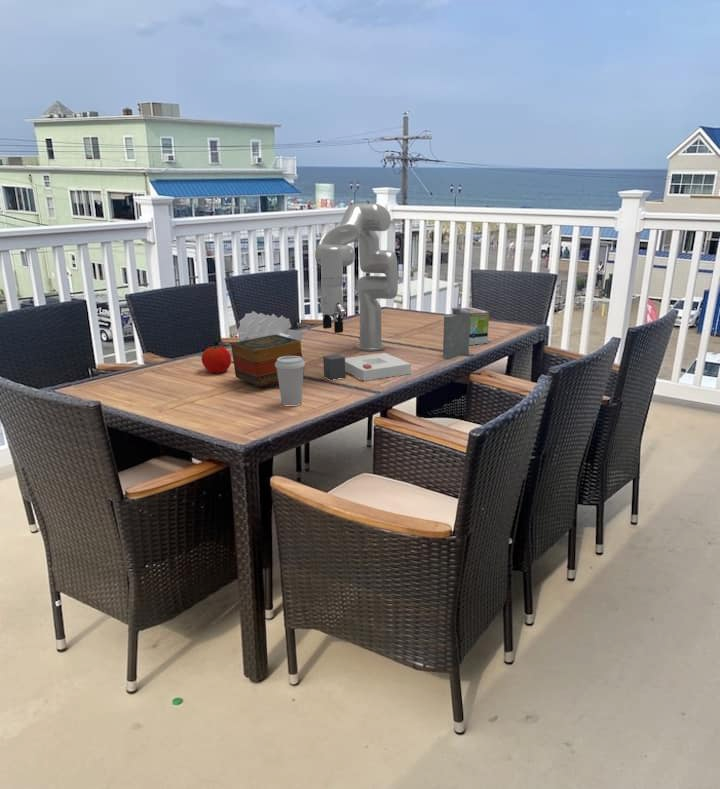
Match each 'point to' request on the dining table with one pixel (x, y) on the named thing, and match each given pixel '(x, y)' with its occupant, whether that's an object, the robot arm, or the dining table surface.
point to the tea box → (477, 325)
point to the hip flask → (456, 333)
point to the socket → (376, 366)
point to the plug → (334, 366)
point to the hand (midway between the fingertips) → (333, 330)
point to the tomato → (216, 359)
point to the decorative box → (262, 358)
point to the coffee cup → (290, 379)
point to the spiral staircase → (265, 327)
